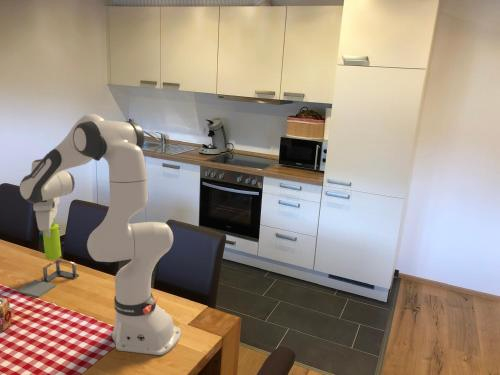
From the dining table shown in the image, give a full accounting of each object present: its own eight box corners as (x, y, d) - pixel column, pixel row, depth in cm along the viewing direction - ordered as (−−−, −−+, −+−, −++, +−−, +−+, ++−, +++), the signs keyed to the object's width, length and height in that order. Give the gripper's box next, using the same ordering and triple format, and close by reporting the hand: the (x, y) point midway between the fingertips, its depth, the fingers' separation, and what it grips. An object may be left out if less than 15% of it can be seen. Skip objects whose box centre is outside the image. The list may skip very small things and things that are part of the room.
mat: (55, 286, 164) (55, 284, 164) (38, 297, 156) (38, 296, 156) (35, 281, 167) (34, 279, 167) (17, 292, 158) (16, 290, 158)
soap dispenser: (39, 257, 167) (34, 210, 161) (56, 251, 172) (52, 206, 166) (47, 262, 163) (42, 214, 158) (64, 256, 169) (60, 209, 163)
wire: (79, 275, 173) (78, 261, 171) (63, 286, 164) (62, 271, 162) (58, 271, 175) (56, 257, 173) (41, 281, 167) (40, 266, 165)
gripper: (42, 191, 170) (46, 223, 174) (32, 208, 151) (35, 243, 155) (59, 191, 171) (62, 222, 175) (51, 207, 153) (54, 242, 156)
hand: (49, 232), depth 165 cm, fingers closed on soap dispenser, 6 cm apart
